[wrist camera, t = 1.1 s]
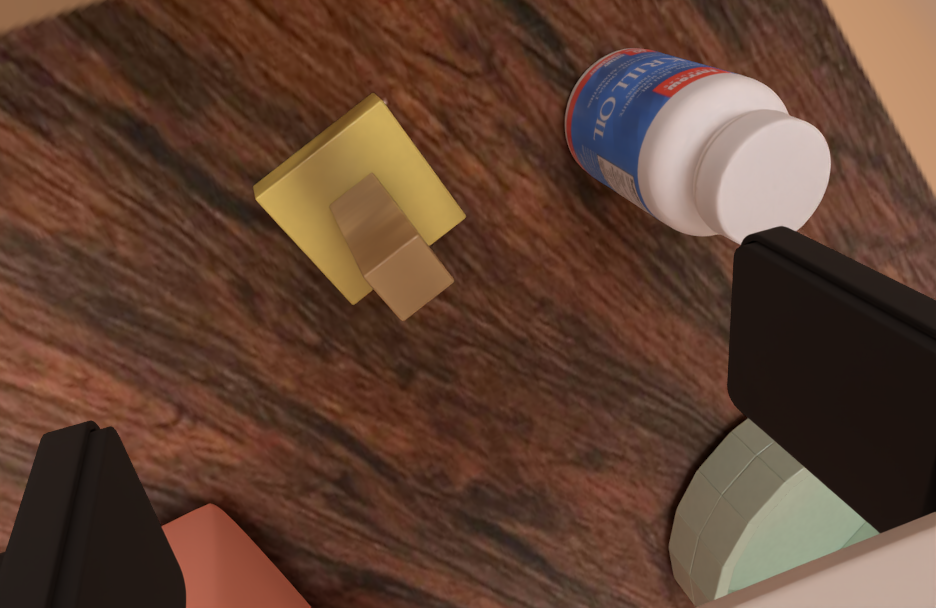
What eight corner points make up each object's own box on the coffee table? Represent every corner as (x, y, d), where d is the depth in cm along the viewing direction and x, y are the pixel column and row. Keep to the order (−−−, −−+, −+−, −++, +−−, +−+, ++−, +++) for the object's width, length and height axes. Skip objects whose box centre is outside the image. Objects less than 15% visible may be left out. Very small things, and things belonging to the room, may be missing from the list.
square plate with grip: (373, 91, 26) (433, 145, 20) (455, 205, 29) (532, 285, 23) (251, 186, 27) (269, 272, 20) (346, 290, 29) (390, 396, 23)
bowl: (871, 311, 40) (951, 355, 36) (932, 482, 49) (1001, 534, 45) (616, 506, 40) (666, 573, 36) (725, 640, 50) (774, 706, 45)
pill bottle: (631, 15, 28) (810, 47, 20) (699, 110, 31) (881, 174, 23) (532, 120, 29) (667, 194, 21) (608, 204, 32) (753, 299, 23)
